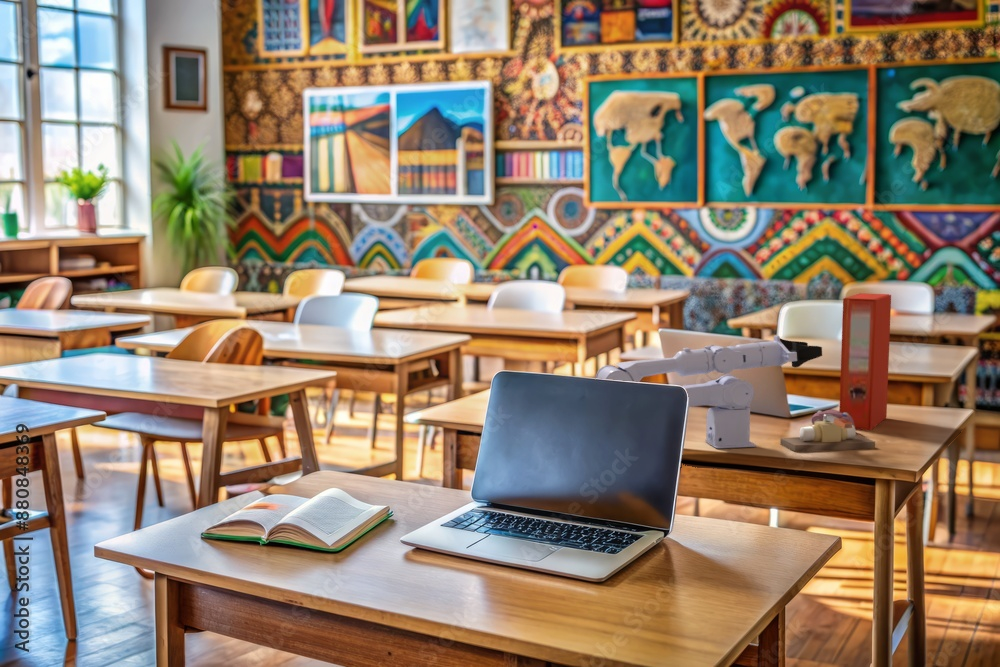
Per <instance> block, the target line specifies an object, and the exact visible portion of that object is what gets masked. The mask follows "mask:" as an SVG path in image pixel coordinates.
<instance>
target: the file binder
mask: <svg viewBox="0 0 1000 667" xmlns="http://www.w3.org/2000/svg"><path fill="white" fill-rule="evenodd" d="M891 305H892V294H888V293H887V294H886V293H861V292H860V293H857V294H853V295H849V296H848V297H847V296H846V297H844V298H842V320H841V321H842V323H841V324H842V325H841V326H842V327H841V328H842V329H841V352H840V353H841V355H840V357H841V358H840V378H839V380H840V381H839V410H838V411H839V412H841V413H844V412H846V413H848V415H850V416H851V417H852V419H853V422H854V425H855V430H865V431H866V430H867V431H871V430H873V429H874V428H875V427H876V426H878V425H879V424H880V423H882V422H883V421H884V420H885V419H886V418H887V413H888V385H889V362H890V361H889V359H890V338H891V336H890V334H891V331H890V330H891V313H892V312H891V308H892V306H891Z"/></svg>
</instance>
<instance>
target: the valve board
mask: <svg viewBox="0 0 1000 667" xmlns="http://www.w3.org/2000/svg"><path fill="white" fill-rule="evenodd" d="M779 442H780V445H781V446H782V447H785V448H786V449H788V450H790V451H792V452H794V453H798V452H799V453H802V452H823V451H824V452H825V451H843V450H844V451H845V450H846V451H847V450H849V451H850V450H866V449H867V450H868V449H876V441H874V440H872V439H870V438H867V437H865V436H863V435H860V434H856V435H855V438H854V439H846V440H841V441H840V442H821V441H818V442H813V441H802V440H801V439H800V436H798V437H797V436H796V437H780V441H779Z"/></svg>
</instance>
